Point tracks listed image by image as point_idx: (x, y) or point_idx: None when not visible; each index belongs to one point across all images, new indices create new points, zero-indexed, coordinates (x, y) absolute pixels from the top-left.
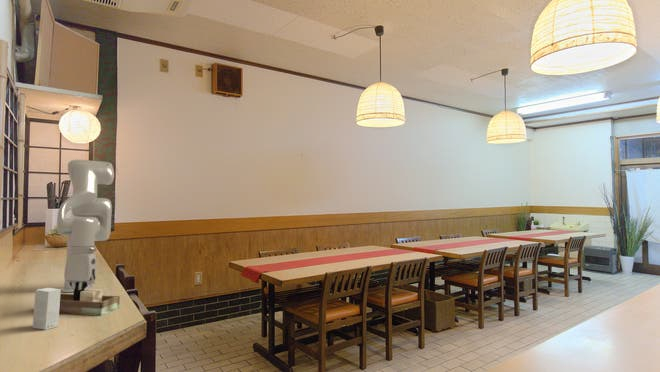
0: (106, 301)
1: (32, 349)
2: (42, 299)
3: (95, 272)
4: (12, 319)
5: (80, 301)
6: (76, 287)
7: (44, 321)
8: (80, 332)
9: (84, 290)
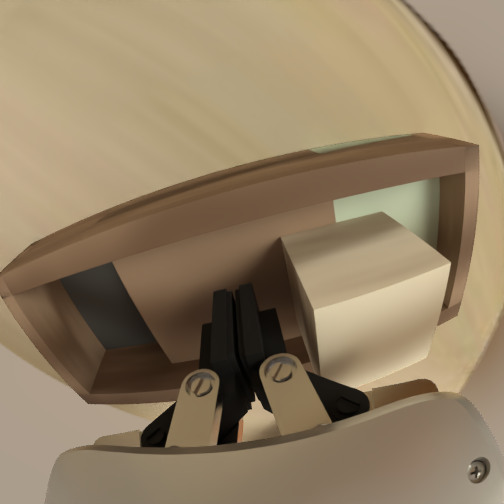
0: (465, 284)
1: None
2: None
3: (490, 483)
4: (155, 415)
5: None
6: (239, 417)
7: None
8: (430, 379)
9: (320, 370)
